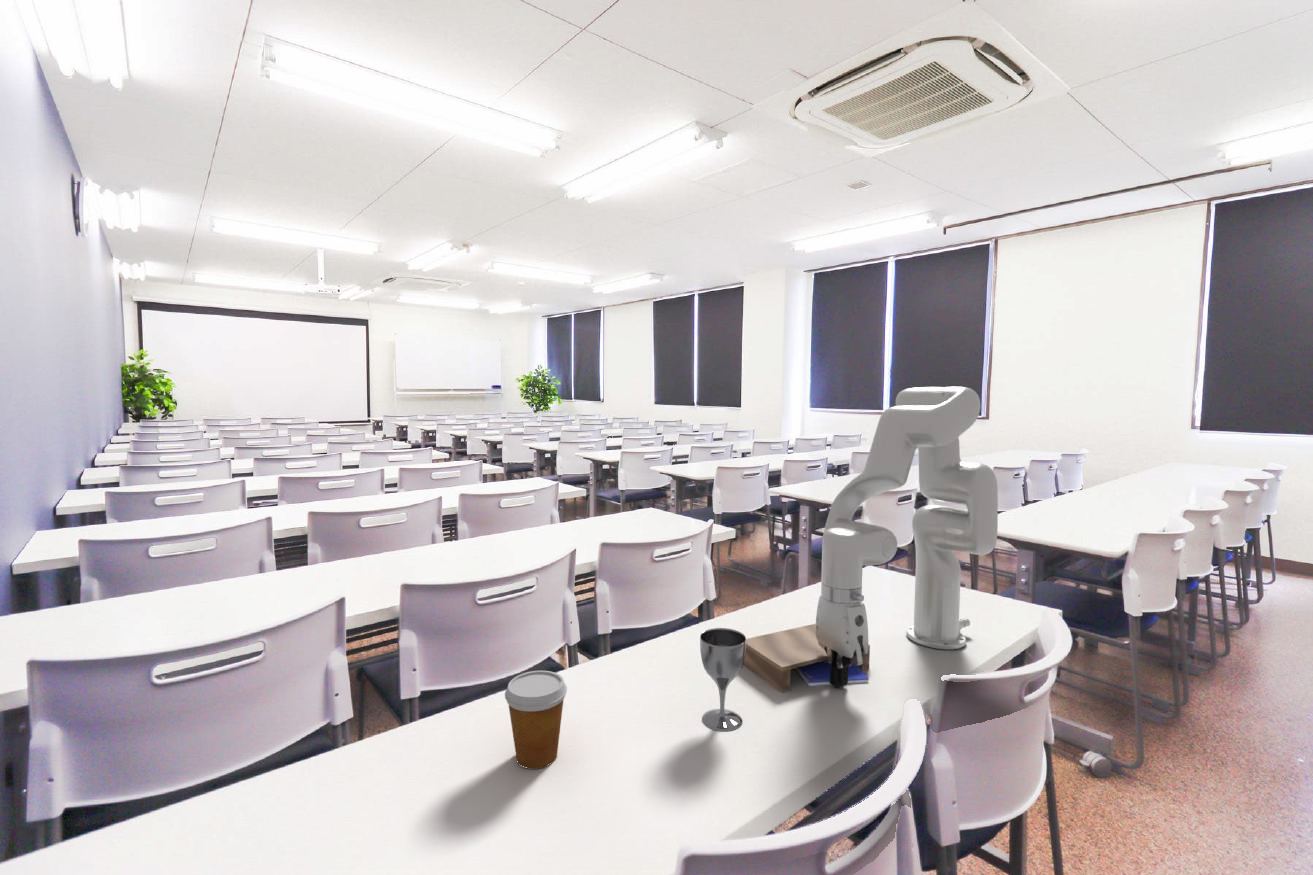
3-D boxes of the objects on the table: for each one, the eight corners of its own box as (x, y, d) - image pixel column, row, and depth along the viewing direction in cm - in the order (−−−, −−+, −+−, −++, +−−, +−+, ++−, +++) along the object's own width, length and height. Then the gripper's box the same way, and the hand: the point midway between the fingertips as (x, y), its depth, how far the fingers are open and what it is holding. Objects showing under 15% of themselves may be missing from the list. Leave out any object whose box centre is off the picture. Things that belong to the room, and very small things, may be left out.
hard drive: (808, 680, 115) (868, 677, 116) (794, 662, 123) (850, 659, 125) (808, 688, 115) (868, 684, 117) (793, 669, 123) (849, 666, 125)
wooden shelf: (822, 642, 135) (823, 621, 135) (869, 668, 122) (869, 644, 122) (740, 662, 125) (740, 640, 124) (781, 692, 112) (782, 667, 112)
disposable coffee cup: (538, 784, 85) (537, 705, 85) (492, 762, 90) (491, 687, 90) (579, 751, 94) (579, 678, 93) (536, 732, 99) (535, 664, 98)
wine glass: (715, 737, 97) (716, 650, 96) (691, 714, 104) (691, 632, 103) (754, 725, 101) (755, 641, 100) (728, 703, 108) (728, 624, 107)
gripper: (885, 601, 108) (882, 697, 109) (828, 579, 121) (826, 665, 123) (855, 608, 105) (853, 706, 106) (800, 584, 118) (798, 672, 119)
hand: (838, 684), depth 114 cm, fingers closed
